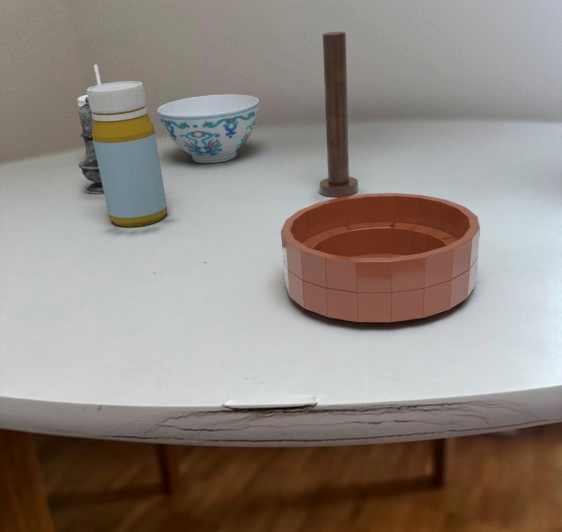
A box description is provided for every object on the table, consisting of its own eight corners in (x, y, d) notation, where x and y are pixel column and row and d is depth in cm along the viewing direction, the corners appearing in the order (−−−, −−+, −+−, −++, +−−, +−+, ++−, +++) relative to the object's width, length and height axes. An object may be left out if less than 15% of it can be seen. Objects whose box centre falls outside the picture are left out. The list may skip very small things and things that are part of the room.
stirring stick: (353, 183, 90) (349, 29, 80) (362, 194, 85) (360, 33, 76) (316, 188, 89) (309, 33, 80) (324, 199, 85) (317, 37, 76)
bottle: (104, 216, 86) (75, 87, 78) (157, 204, 88) (135, 78, 80) (119, 232, 80) (91, 95, 72) (176, 219, 83) (155, 85, 75)
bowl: (435, 243, 70) (438, 184, 67) (506, 315, 56) (513, 245, 53) (274, 264, 69) (269, 205, 66) (305, 343, 55) (300, 273, 52)
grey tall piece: (114, 179, 100) (96, 90, 94) (134, 186, 96) (117, 94, 90) (76, 189, 97) (55, 98, 91) (95, 197, 93) (75, 103, 87)
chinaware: (226, 174, 97) (219, 117, 93) (145, 166, 105) (136, 113, 101) (281, 148, 108) (277, 95, 104) (205, 142, 115) (198, 93, 111)
